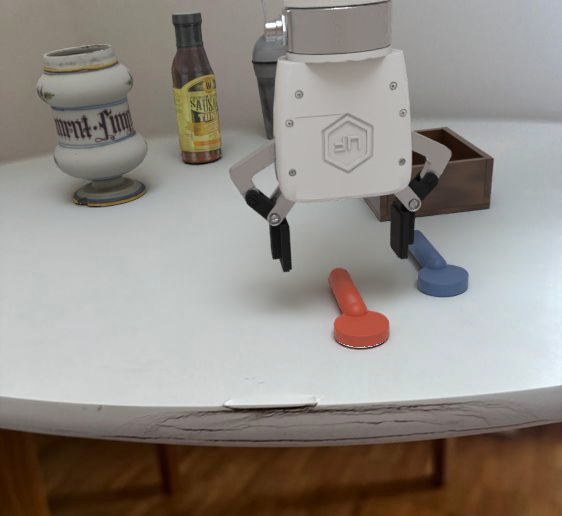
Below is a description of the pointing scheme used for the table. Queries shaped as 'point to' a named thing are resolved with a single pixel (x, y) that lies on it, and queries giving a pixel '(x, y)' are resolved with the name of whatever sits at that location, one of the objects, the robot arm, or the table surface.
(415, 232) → the blue spoon
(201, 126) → the sauce bottle
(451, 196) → the bin
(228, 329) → the table surface
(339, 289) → the red spoon
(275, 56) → the beverage cup
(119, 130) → the apothecary jar
